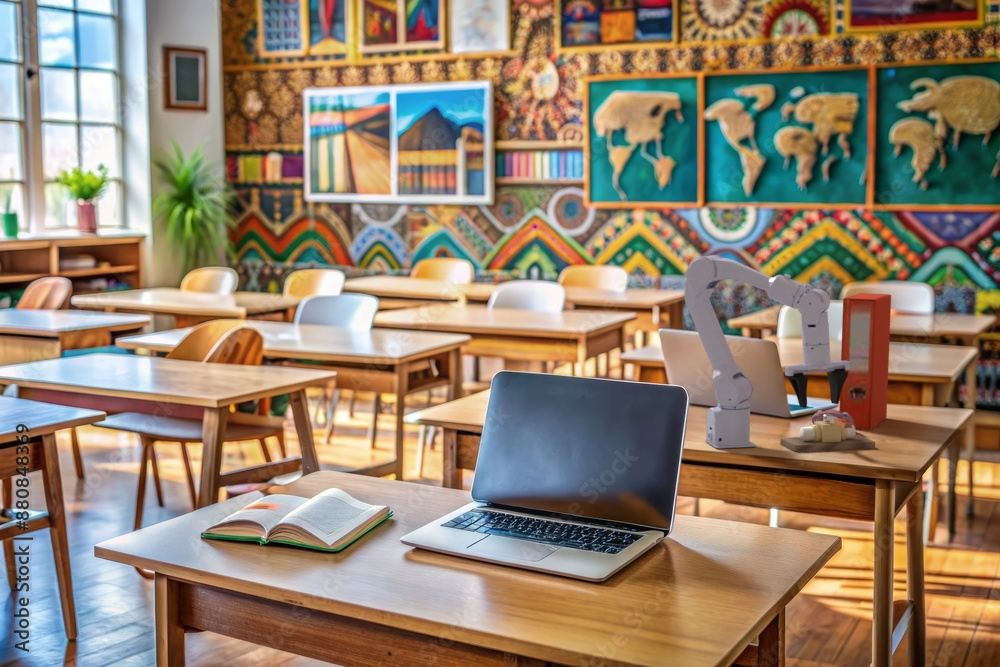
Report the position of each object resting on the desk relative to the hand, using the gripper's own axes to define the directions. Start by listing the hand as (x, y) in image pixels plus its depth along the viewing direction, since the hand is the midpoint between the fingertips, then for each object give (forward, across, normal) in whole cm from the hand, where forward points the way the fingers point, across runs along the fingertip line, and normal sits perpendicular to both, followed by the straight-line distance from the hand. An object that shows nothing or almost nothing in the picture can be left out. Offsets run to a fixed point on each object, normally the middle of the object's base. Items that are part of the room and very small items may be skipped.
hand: (819, 405), depth 238 cm
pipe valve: (+11, +5, +6) cm, 13 cm away
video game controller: (+11, +14, +20) cm, 27 cm away
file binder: (+11, +27, +29) cm, 41 cm away
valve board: (+11, +5, +6) cm, 13 cm away
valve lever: (+5, +5, +2) cm, 7 cm away
